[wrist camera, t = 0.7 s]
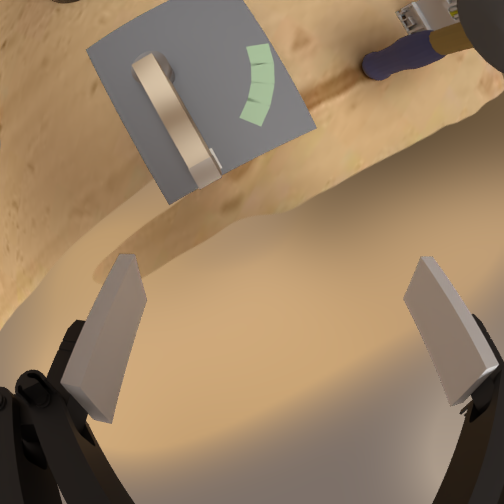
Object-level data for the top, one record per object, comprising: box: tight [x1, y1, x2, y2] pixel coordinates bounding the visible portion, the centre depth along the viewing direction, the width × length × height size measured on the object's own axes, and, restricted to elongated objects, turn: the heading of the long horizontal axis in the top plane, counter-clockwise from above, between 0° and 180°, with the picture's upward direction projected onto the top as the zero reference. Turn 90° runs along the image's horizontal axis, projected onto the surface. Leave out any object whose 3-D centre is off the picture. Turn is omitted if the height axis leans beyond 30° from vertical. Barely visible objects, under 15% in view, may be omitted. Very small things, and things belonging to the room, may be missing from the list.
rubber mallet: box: [362, 0, 504, 80], centre depth 17 cm, size 12×8×30 cm, turn 122°
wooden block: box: [131, 51, 222, 189], centre depth 26 cm, size 15×4×8 cm, turn 27°
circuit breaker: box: [395, 0, 460, 35], centre depth 22 cm, size 8×14×15 cm, turn 119°
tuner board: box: [86, 0, 317, 205], centre depth 29 cm, size 23×19×2 cm
